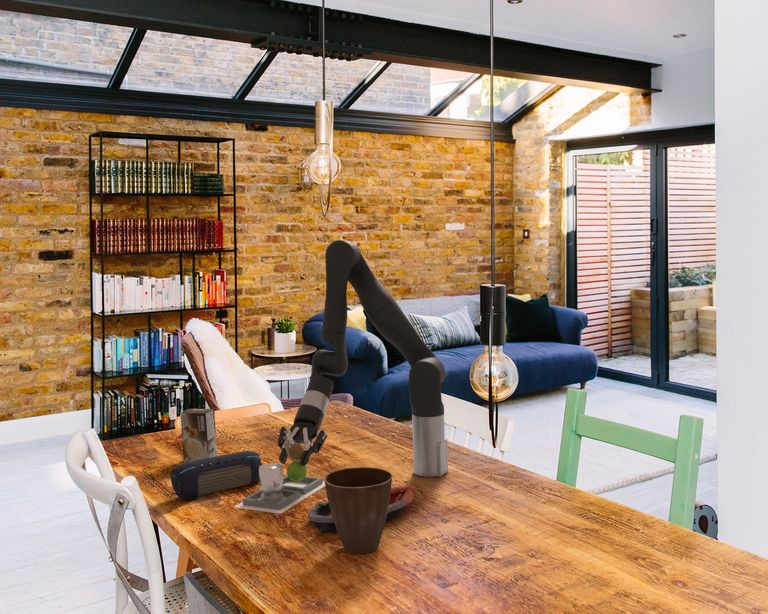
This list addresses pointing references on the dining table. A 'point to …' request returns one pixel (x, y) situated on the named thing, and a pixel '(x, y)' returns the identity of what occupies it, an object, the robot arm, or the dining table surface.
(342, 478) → the plant pot
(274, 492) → the silver metal cylinder
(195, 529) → the dining table surface
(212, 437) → the coffee box
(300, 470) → the snail figurine
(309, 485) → the compartment tray
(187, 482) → the portable speaker
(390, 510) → the dish
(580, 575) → the dining table surface
